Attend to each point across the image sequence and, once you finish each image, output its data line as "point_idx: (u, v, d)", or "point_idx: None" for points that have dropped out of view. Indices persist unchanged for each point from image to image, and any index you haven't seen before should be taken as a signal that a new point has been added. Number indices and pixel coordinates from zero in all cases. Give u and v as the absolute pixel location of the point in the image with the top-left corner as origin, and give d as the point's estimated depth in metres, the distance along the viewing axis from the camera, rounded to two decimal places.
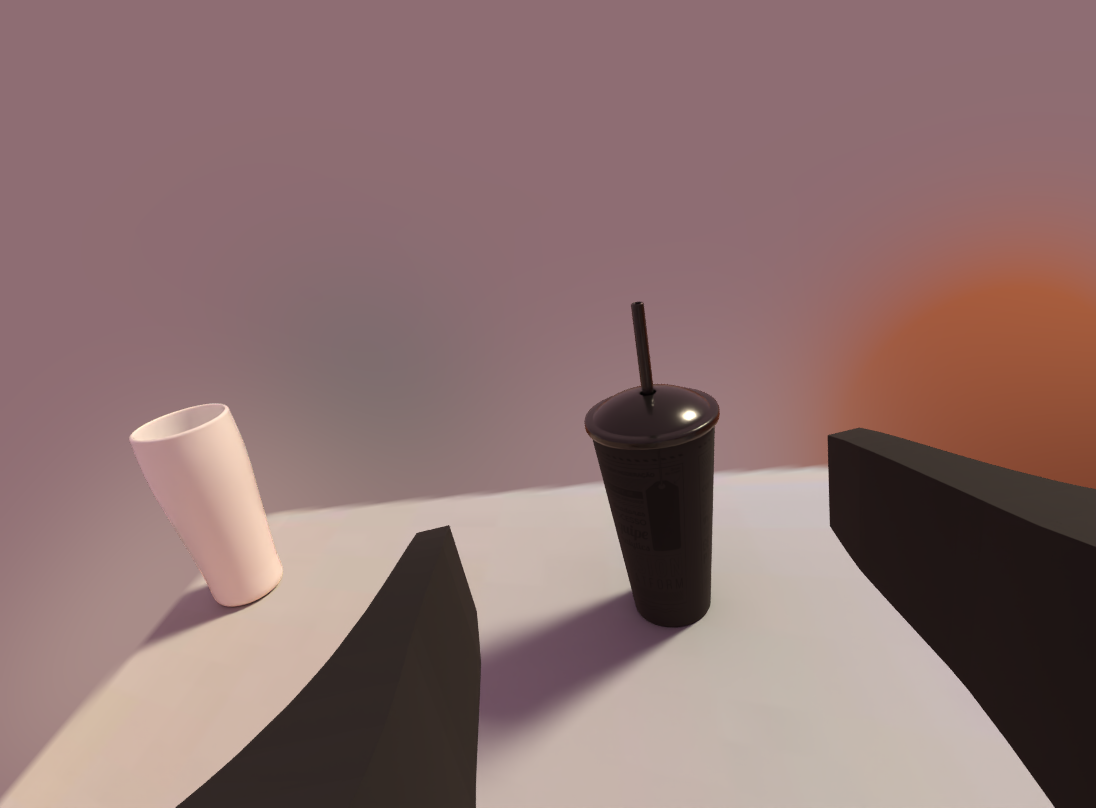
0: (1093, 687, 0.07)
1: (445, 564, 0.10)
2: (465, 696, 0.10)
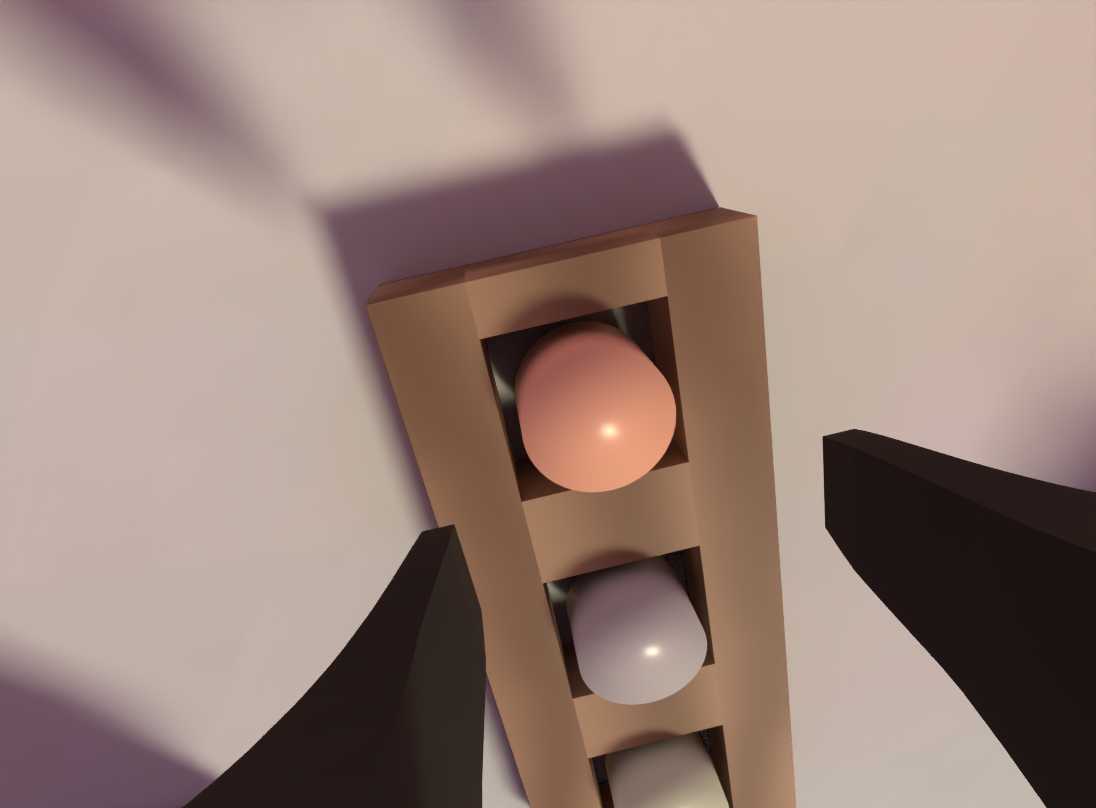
0: (1085, 689, 0.07)
1: (451, 563, 0.10)
2: (471, 695, 0.10)
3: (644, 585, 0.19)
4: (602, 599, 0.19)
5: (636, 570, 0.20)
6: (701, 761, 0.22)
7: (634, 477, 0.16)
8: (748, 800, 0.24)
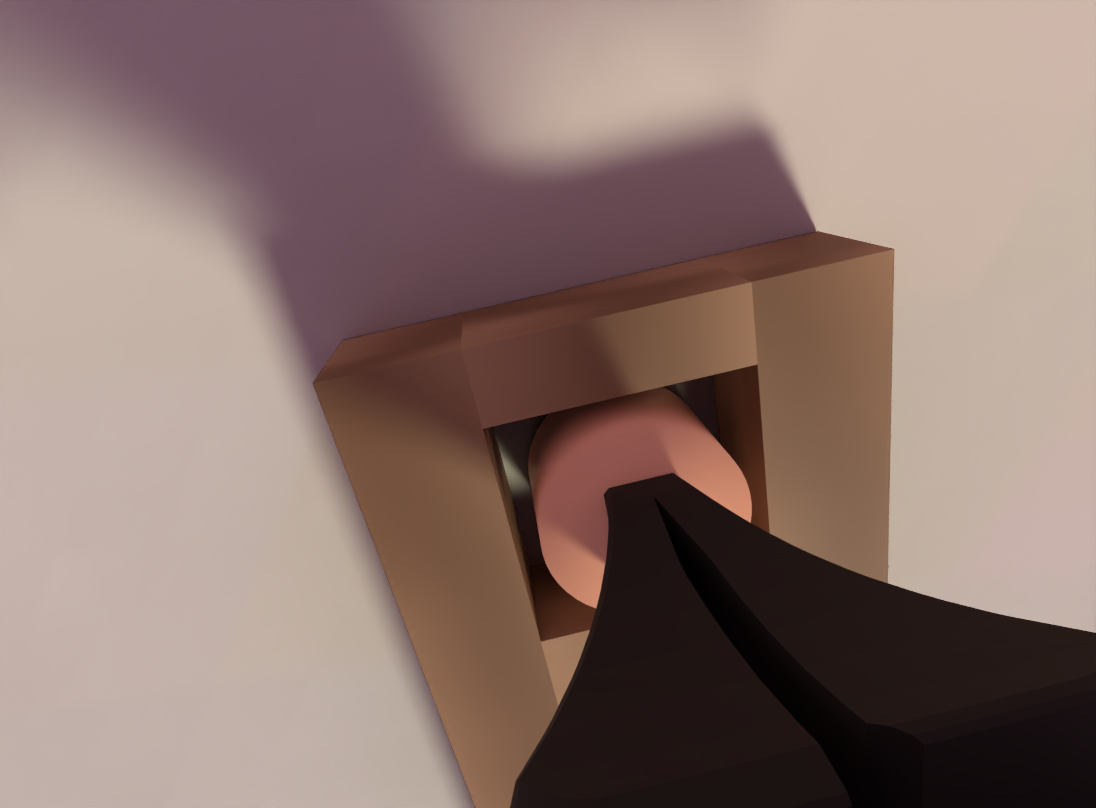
0: None
1: None
2: None
3: None
4: None
5: None
6: None
7: None
8: None
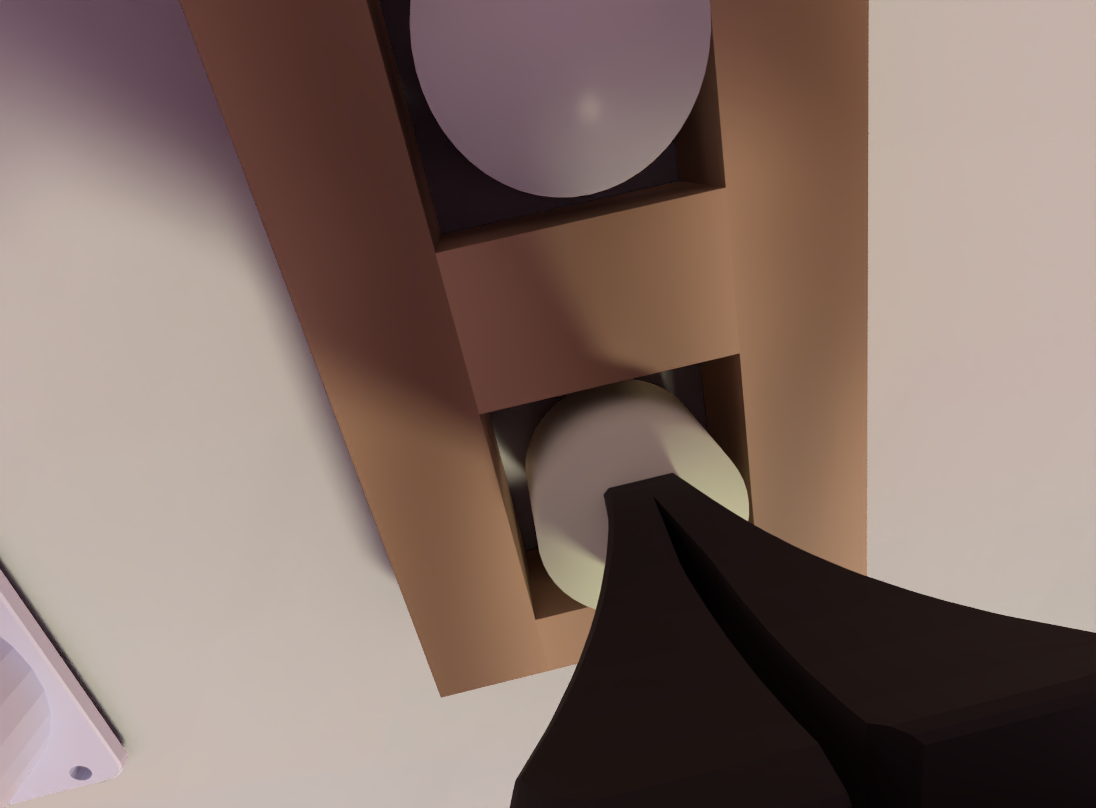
0: None
1: None
2: None
3: None
4: None
5: None
6: (695, 423, 0.12)
7: None
8: (782, 539, 0.13)
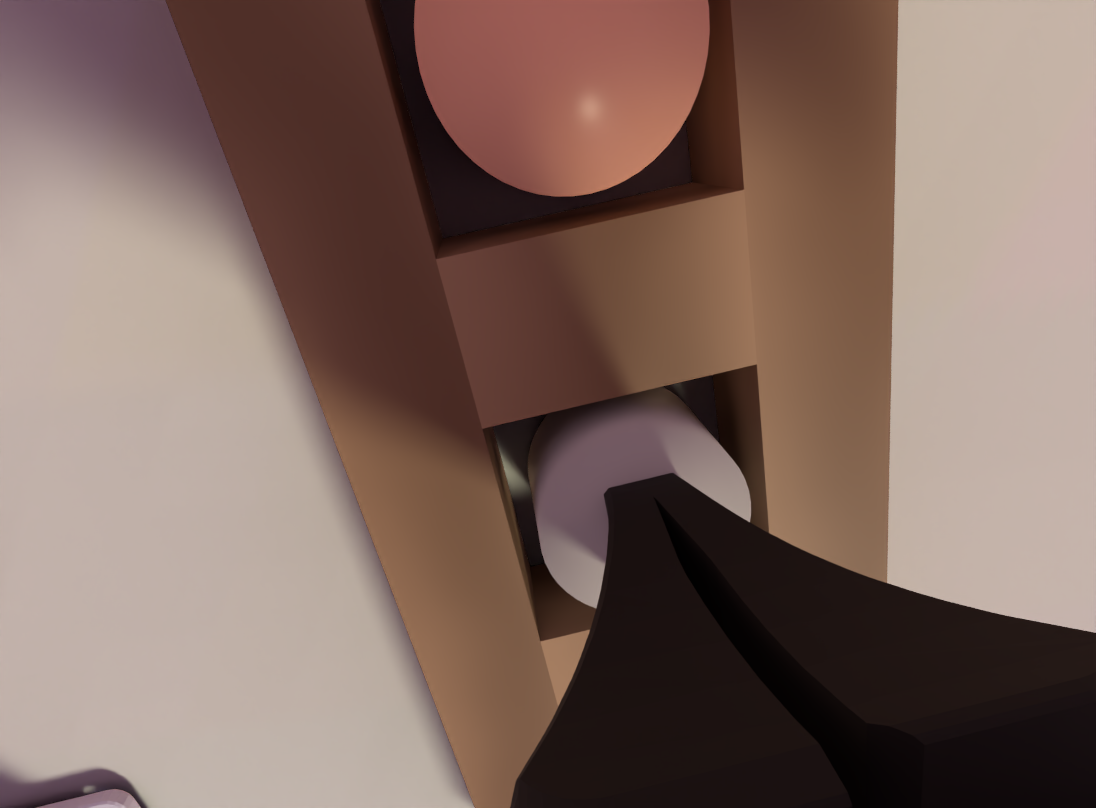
0: None
1: None
2: None
3: (648, 411, 0.11)
4: (579, 434, 0.11)
5: (635, 396, 0.12)
6: None
7: (632, 168, 0.09)
8: None
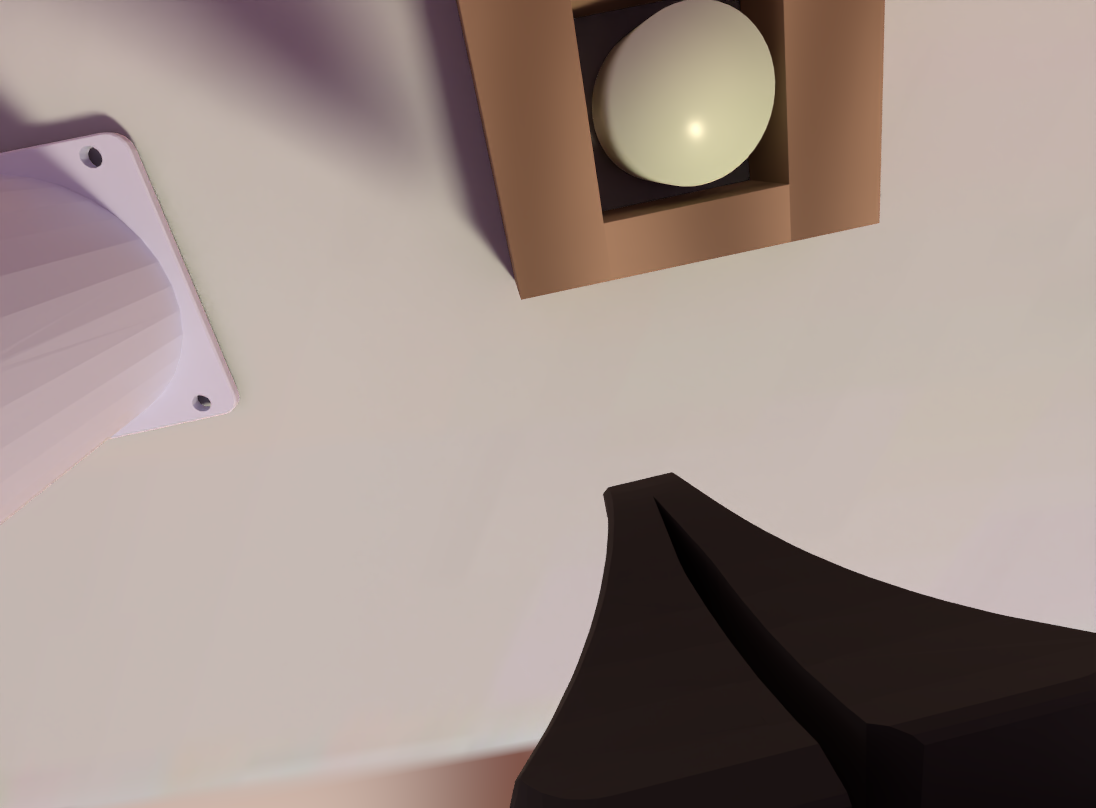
0: None
1: None
2: None
3: None
4: None
5: None
6: None
7: None
8: (811, 158, 0.16)
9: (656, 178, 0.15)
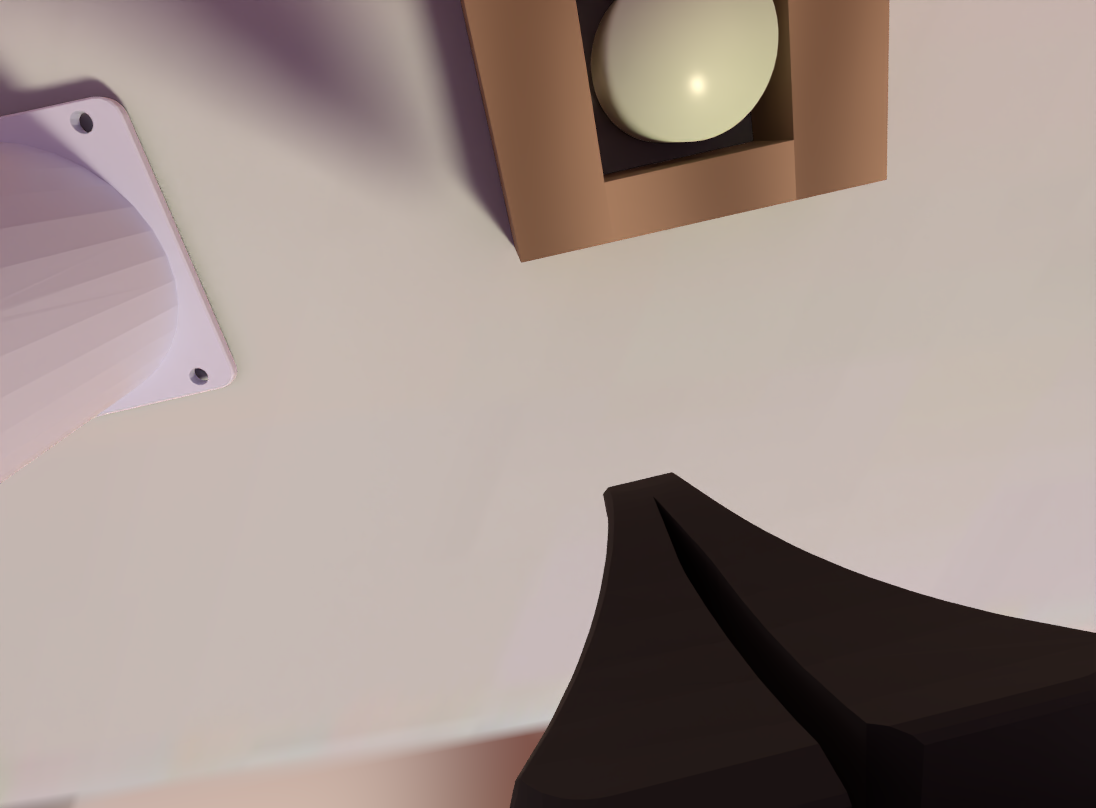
0: None
1: None
2: None
3: None
4: None
5: None
6: None
7: None
8: (815, 112, 0.16)
9: (657, 133, 0.15)
